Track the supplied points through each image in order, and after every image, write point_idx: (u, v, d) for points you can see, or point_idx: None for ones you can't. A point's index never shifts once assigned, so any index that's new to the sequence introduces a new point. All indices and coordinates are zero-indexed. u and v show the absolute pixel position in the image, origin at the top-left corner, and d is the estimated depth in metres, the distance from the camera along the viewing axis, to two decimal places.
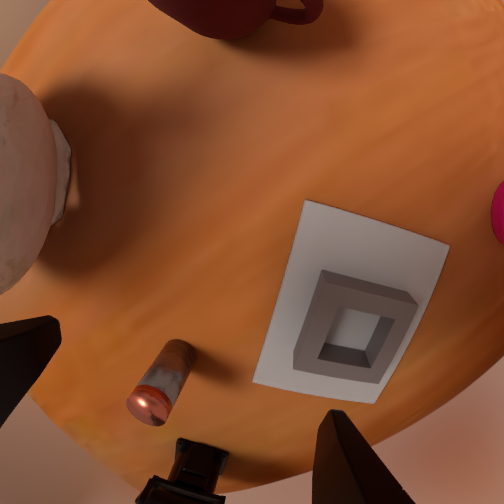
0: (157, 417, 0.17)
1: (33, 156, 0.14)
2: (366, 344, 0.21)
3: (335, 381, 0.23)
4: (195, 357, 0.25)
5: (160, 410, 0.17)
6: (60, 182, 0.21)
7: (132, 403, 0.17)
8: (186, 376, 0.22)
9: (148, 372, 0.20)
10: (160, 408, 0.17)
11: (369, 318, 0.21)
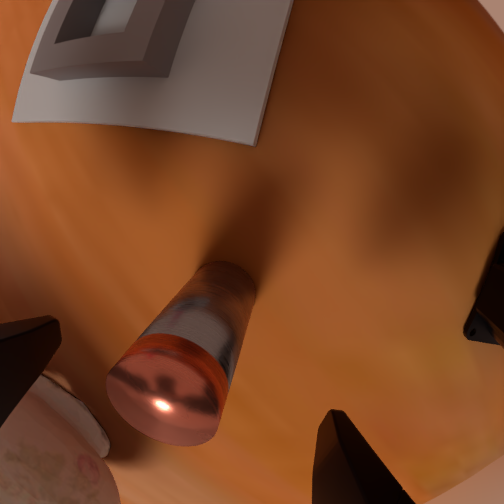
0: (163, 388, 0.06)
1: None
2: None
3: None
4: (219, 263, 0.13)
5: (126, 368, 0.06)
6: (47, 389, 0.18)
7: (146, 426, 0.07)
8: (208, 284, 0.11)
9: None
10: (118, 365, 0.06)
11: (124, 0, 0.09)
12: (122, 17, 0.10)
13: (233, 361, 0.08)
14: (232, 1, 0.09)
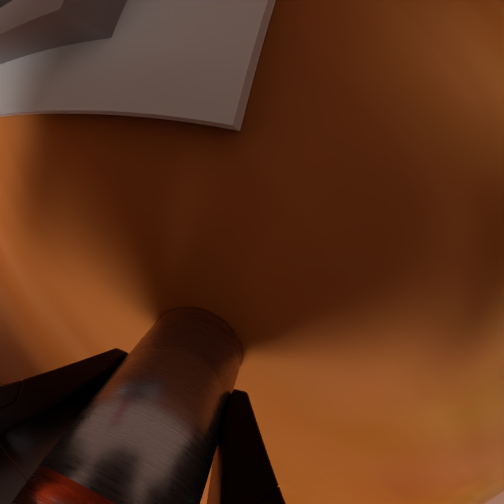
0: None
1: None
2: None
3: None
4: (186, 311, 0.09)
5: None
6: None
7: None
8: (158, 362, 0.06)
9: None
10: None
11: None
12: None
13: (194, 502, 0.04)
14: None
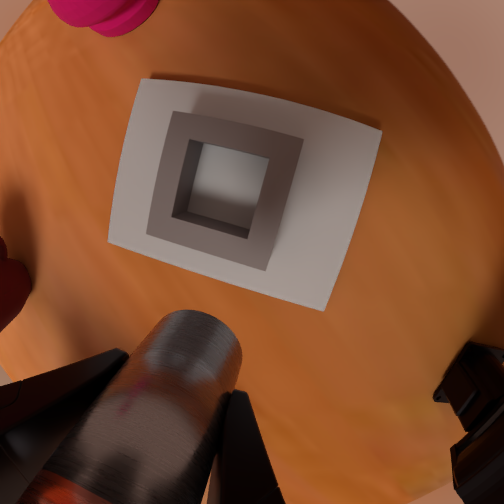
0: None
1: None
2: (263, 158, 0.16)
3: (329, 197, 0.16)
4: (186, 314, 0.09)
5: None
6: None
7: None
8: (159, 365, 0.06)
9: None
10: None
11: (221, 161, 0.17)
12: (223, 183, 0.17)
13: None
14: (320, 198, 0.17)
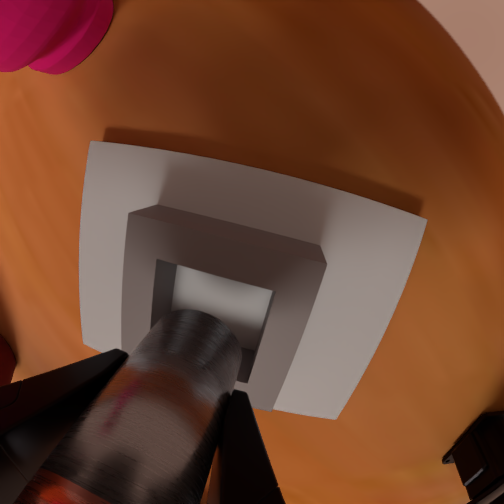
0: None
1: None
2: None
3: (351, 312, 0.12)
4: (186, 314, 0.09)
5: None
6: None
7: None
8: (158, 365, 0.06)
9: None
10: None
11: None
12: (212, 296, 0.13)
13: None
14: (340, 313, 0.12)
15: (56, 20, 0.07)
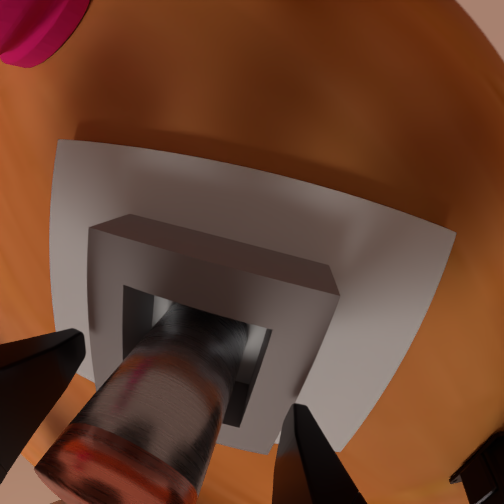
0: None
1: None
2: None
3: (363, 342, 0.10)
4: None
5: (49, 473, 0.03)
6: None
7: None
8: (176, 335, 0.07)
9: None
10: (39, 467, 0.03)
11: None
12: None
13: (206, 455, 0.05)
14: (350, 344, 0.10)
15: (21, 5, 0.05)
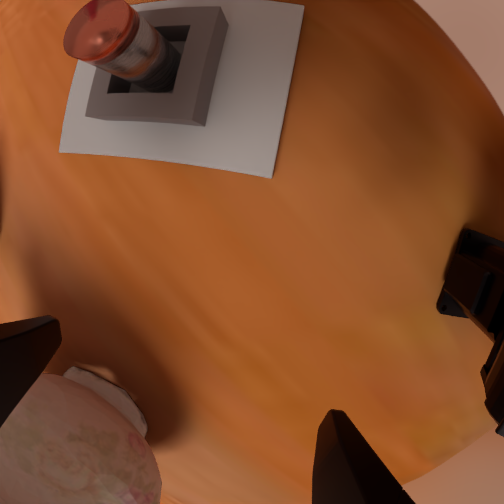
0: (101, 6, 0.07)
1: None
2: None
3: (258, 61, 0.14)
4: None
5: (85, 7, 0.07)
6: (91, 382, 0.23)
7: (78, 46, 0.08)
8: None
9: None
10: (81, 8, 0.07)
11: None
12: None
13: (148, 28, 0.09)
14: (249, 62, 0.14)
15: None
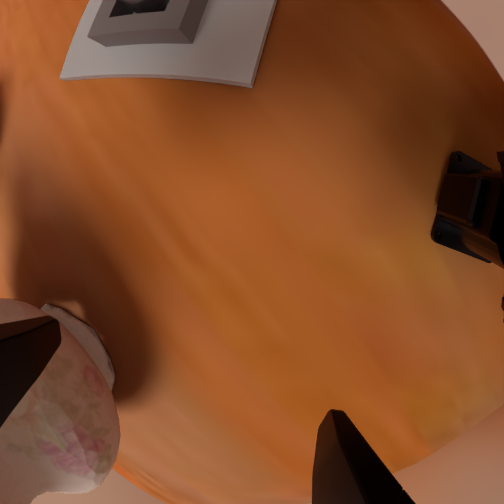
0: None
1: None
2: None
3: None
4: None
5: None
6: (61, 318, 0.22)
7: None
8: None
9: None
10: None
11: None
12: None
13: None
14: None
15: None
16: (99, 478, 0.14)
